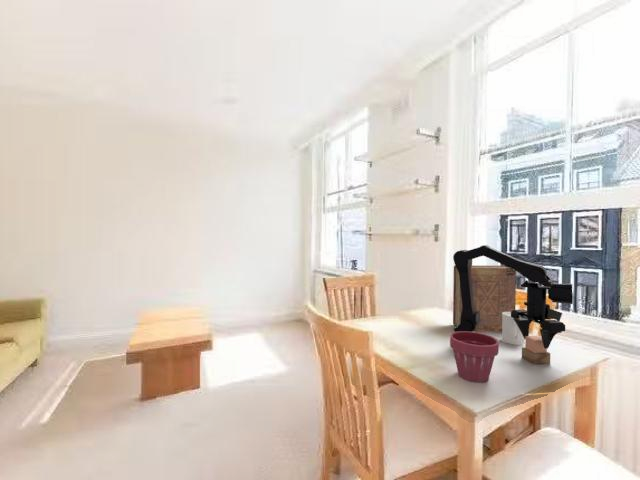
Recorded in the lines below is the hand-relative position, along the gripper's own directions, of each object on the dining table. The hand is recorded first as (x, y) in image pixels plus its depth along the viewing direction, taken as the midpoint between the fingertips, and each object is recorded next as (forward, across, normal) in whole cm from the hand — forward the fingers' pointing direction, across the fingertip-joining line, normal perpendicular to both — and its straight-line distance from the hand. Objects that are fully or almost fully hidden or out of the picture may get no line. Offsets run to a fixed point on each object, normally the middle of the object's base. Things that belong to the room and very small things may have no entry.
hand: (535, 343), depth 114 cm
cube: (+2, 0, 0) cm, 2 cm away
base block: (+6, 0, 0) cm, 6 cm away
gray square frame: (+7, 0, 0) cm, 7 cm away
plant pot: (+7, -7, +28) cm, 30 cm away
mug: (+7, +19, -6) cm, 21 cm away
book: (+7, +40, -6) cm, 41 cm away
